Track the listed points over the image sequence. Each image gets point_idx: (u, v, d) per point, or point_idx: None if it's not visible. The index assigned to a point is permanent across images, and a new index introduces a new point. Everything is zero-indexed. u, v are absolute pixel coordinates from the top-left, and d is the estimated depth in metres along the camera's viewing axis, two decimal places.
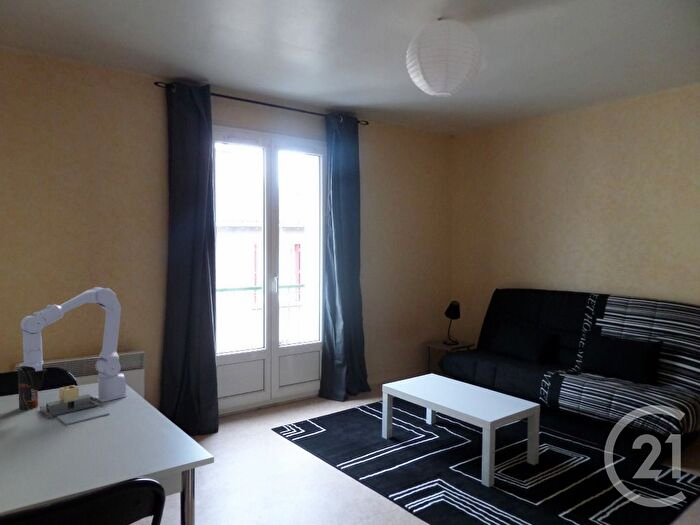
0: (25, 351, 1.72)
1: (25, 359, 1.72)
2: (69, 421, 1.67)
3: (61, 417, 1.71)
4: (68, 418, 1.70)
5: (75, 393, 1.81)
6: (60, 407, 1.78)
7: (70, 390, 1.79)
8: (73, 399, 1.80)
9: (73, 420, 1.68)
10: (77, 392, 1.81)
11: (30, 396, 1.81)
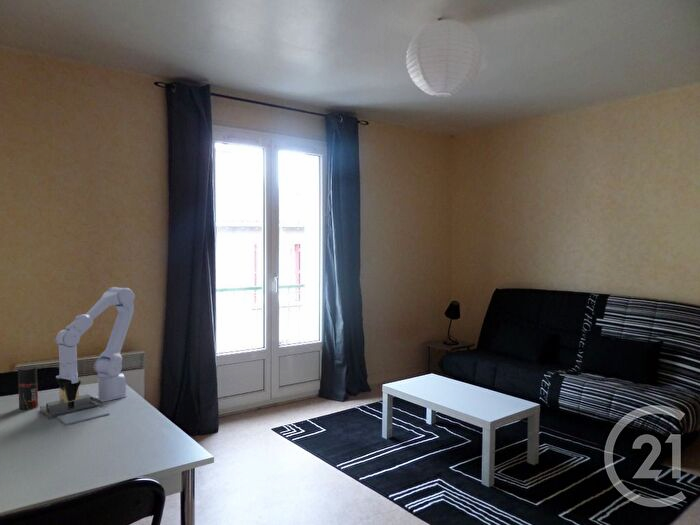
0: (61, 364, 1.78)
1: (61, 372, 1.78)
2: (69, 421, 1.67)
3: (61, 417, 1.71)
4: (68, 418, 1.70)
5: None
6: (60, 407, 1.78)
7: None
8: None
9: (73, 420, 1.68)
10: (77, 392, 1.81)
11: (30, 396, 1.81)
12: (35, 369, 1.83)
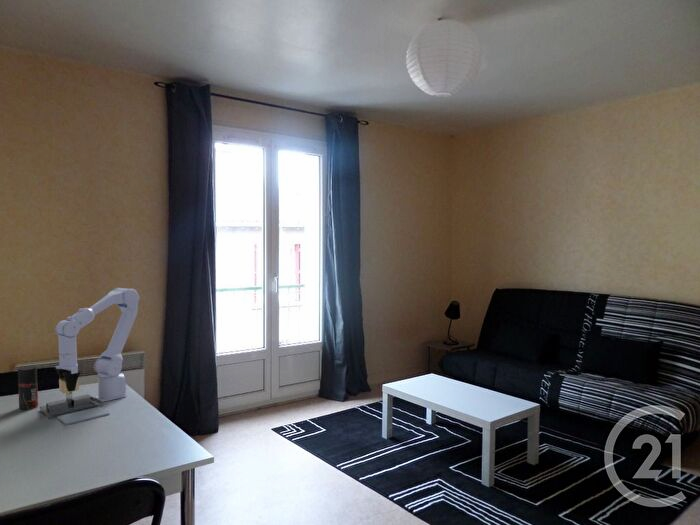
0: (61, 354, 1.78)
1: (61, 362, 1.78)
2: (69, 421, 1.67)
3: (61, 417, 1.71)
4: (68, 418, 1.70)
5: None
6: (60, 407, 1.78)
7: None
8: None
9: (73, 420, 1.68)
10: (77, 383, 1.81)
11: (30, 396, 1.81)
12: (35, 369, 1.83)
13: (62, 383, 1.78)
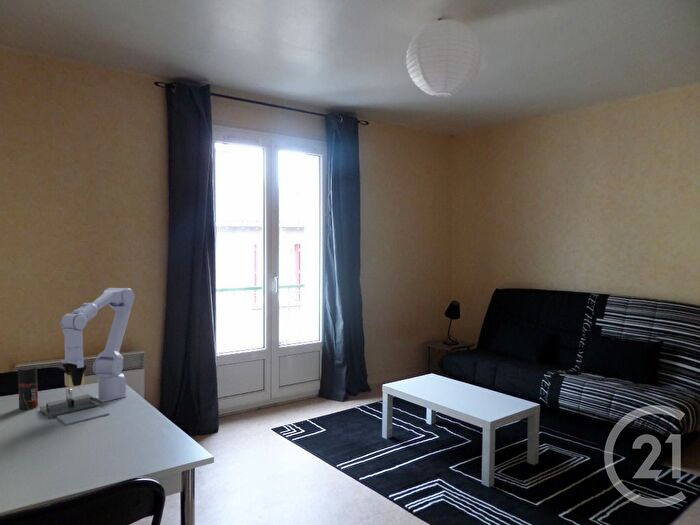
0: (67, 348, 1.74)
1: (67, 356, 1.74)
2: (69, 421, 1.67)
3: (61, 417, 1.71)
4: (68, 418, 1.70)
5: None
6: (60, 407, 1.78)
7: None
8: None
9: (73, 420, 1.68)
10: (83, 377, 1.77)
11: (30, 396, 1.81)
12: (35, 369, 1.83)
13: (67, 377, 1.75)
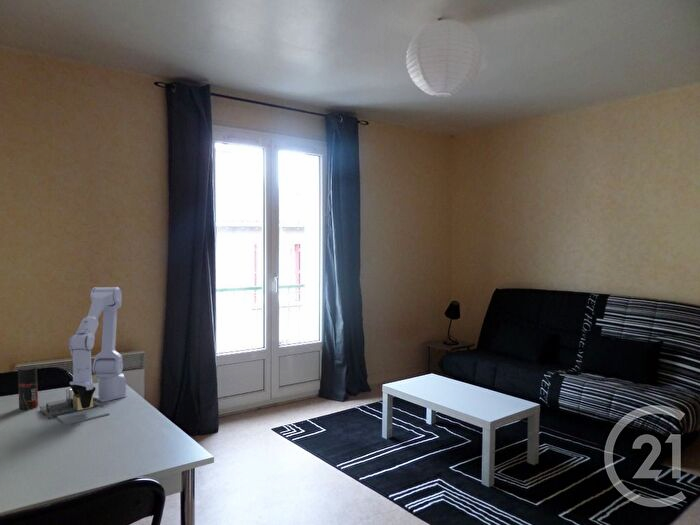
0: (75, 370, 1.71)
1: (75, 378, 1.71)
2: (69, 421, 1.67)
3: (61, 417, 1.71)
4: (68, 418, 1.70)
5: None
6: (60, 407, 1.78)
7: None
8: None
9: (73, 420, 1.68)
10: (91, 399, 1.73)
11: (30, 396, 1.81)
12: (35, 369, 1.83)
13: (76, 400, 1.71)
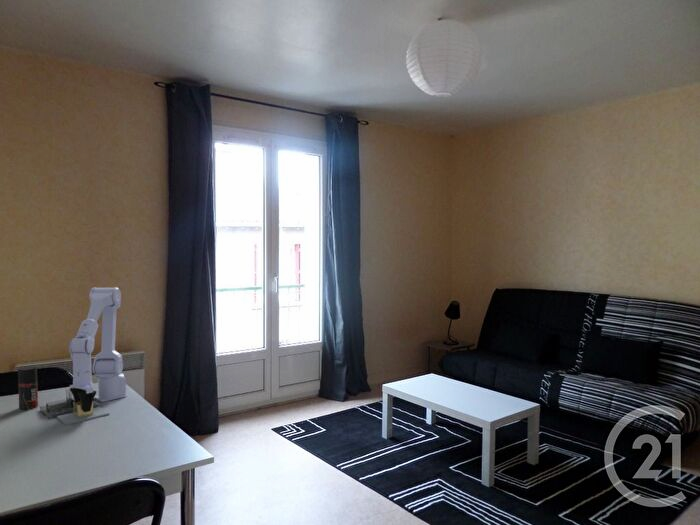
0: (75, 373, 1.71)
1: (75, 381, 1.71)
2: (69, 421, 1.67)
3: (61, 417, 1.71)
4: (68, 418, 1.70)
5: None
6: (60, 407, 1.78)
7: None
8: (87, 414, 1.73)
9: (73, 420, 1.68)
10: (91, 407, 1.74)
11: (30, 396, 1.81)
12: (35, 369, 1.83)
13: (76, 407, 1.71)
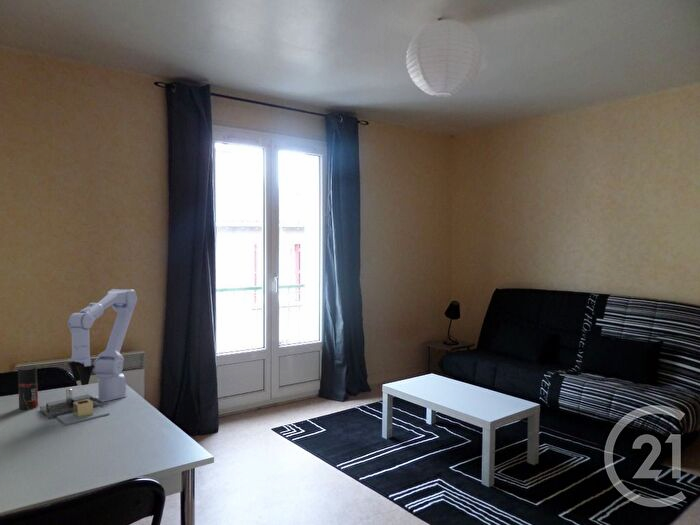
0: (74, 347, 1.76)
1: (74, 355, 1.76)
2: (69, 421, 1.67)
3: (61, 417, 1.71)
4: (68, 418, 1.70)
5: (89, 408, 1.73)
6: (60, 407, 1.78)
7: (84, 405, 1.72)
8: (87, 414, 1.73)
9: (73, 420, 1.68)
10: (91, 407, 1.74)
11: (30, 396, 1.81)
12: (35, 369, 1.83)
13: (76, 407, 1.71)
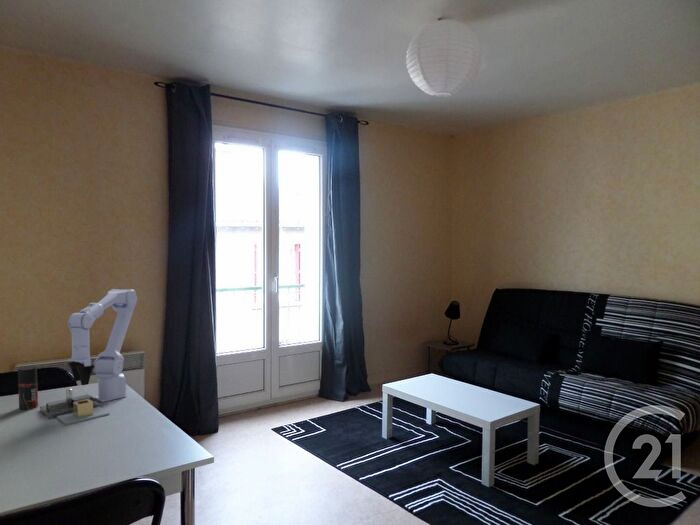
0: (74, 347, 1.76)
1: (74, 355, 1.76)
2: (69, 421, 1.67)
3: (61, 417, 1.71)
4: (68, 418, 1.70)
5: (89, 408, 1.73)
6: (60, 407, 1.78)
7: (84, 405, 1.72)
8: (87, 414, 1.73)
9: (73, 420, 1.68)
10: (91, 407, 1.74)
11: (30, 396, 1.81)
12: (35, 369, 1.83)
13: (76, 407, 1.71)
